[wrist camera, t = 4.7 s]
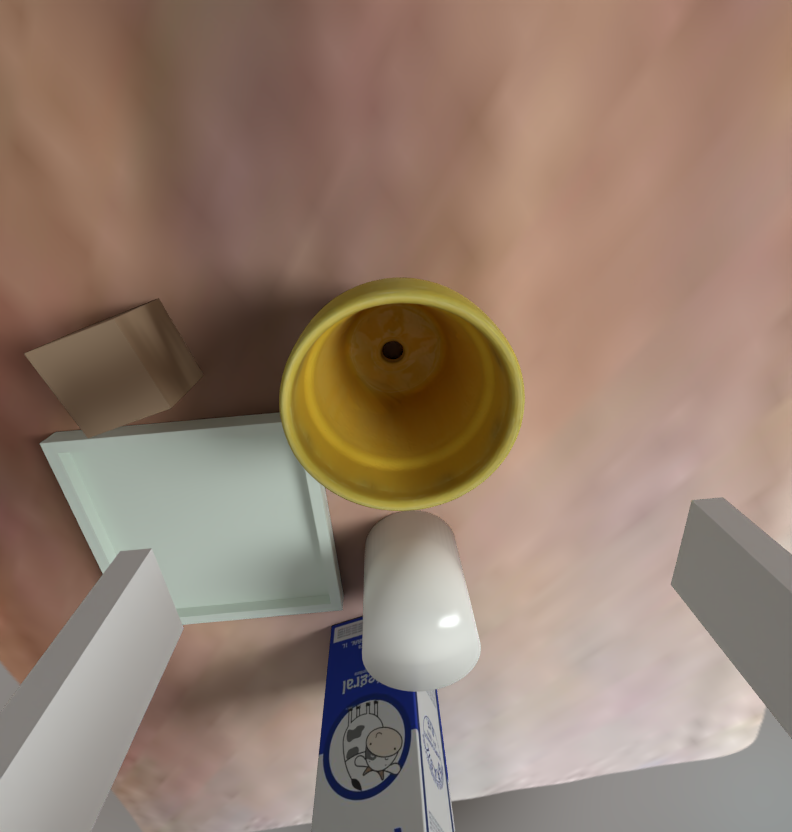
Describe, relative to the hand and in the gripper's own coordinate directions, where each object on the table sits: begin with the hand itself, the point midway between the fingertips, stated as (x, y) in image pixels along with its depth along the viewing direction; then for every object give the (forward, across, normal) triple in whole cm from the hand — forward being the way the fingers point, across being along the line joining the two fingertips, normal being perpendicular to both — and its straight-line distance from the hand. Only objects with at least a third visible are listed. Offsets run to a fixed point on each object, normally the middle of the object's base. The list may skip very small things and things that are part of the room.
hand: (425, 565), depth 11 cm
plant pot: (+18, 0, 0) cm, 18 cm away
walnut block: (+18, -15, +1) cm, 24 cm away
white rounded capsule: (+18, 0, -16) cm, 24 cm away
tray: (+18, -14, -12) cm, 26 cm away
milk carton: (+18, -3, -26) cm, 32 cm away
